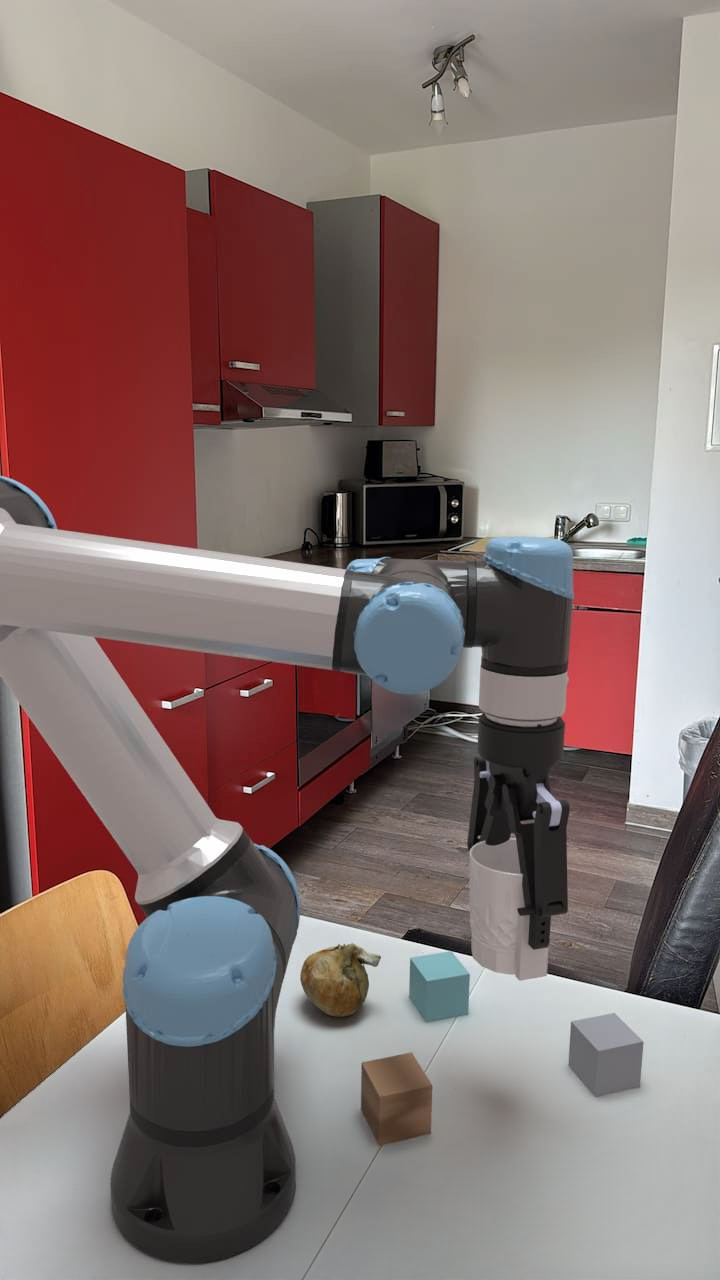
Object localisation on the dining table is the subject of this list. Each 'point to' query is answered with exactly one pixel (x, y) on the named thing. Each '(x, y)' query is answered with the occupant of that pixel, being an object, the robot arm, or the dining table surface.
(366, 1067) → the walnut block
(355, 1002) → the onion
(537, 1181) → the dining table surface
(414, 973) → the dusty teal block
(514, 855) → the white cup
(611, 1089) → the slate grey block
